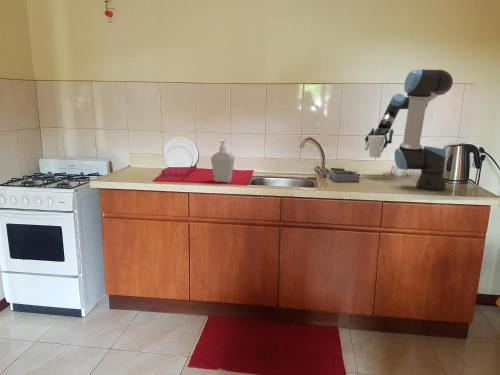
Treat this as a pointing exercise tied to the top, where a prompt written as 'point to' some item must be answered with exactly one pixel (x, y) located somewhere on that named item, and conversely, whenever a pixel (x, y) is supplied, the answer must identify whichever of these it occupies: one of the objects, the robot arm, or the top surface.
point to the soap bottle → (222, 164)
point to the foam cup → (375, 145)
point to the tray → (344, 176)
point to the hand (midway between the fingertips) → (373, 150)
